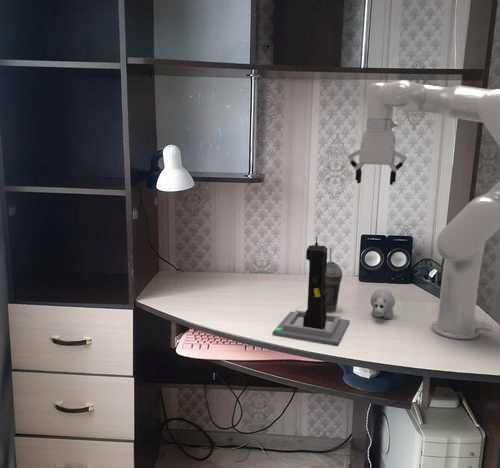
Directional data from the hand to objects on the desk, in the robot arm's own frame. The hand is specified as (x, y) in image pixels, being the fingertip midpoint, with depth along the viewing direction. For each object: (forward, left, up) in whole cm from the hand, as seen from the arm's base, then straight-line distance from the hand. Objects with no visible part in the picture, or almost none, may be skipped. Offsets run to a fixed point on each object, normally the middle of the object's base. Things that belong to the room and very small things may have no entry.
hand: (375, 183), depth 150 cm
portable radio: (+11, +23, -40) cm, 47 cm away
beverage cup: (+11, +5, -40) cm, 42 cm away
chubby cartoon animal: (-5, +6, -41) cm, 41 cm away
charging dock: (+12, +23, -40) cm, 48 cm away
